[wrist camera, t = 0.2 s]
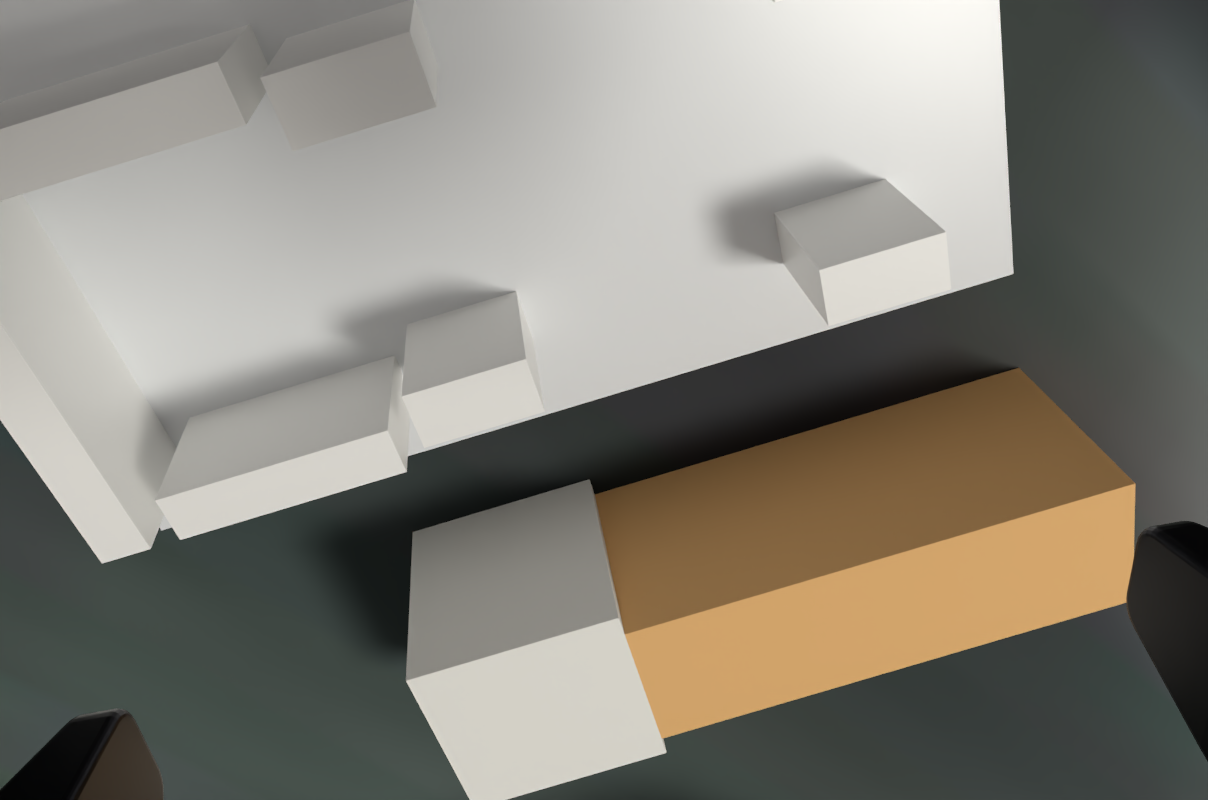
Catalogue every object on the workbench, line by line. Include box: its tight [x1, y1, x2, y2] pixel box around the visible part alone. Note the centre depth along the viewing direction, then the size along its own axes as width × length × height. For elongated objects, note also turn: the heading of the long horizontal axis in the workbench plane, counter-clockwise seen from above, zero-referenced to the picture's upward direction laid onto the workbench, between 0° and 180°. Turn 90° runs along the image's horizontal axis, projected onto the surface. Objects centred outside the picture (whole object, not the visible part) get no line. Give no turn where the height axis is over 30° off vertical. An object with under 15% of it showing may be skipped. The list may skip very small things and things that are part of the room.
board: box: [0, 0, 1013, 563], centre depth 19 cm, size 11×20×4 cm, turn 105°
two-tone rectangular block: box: [406, 368, 1135, 800], centre depth 24 cm, size 4×16×5 cm, turn 105°
